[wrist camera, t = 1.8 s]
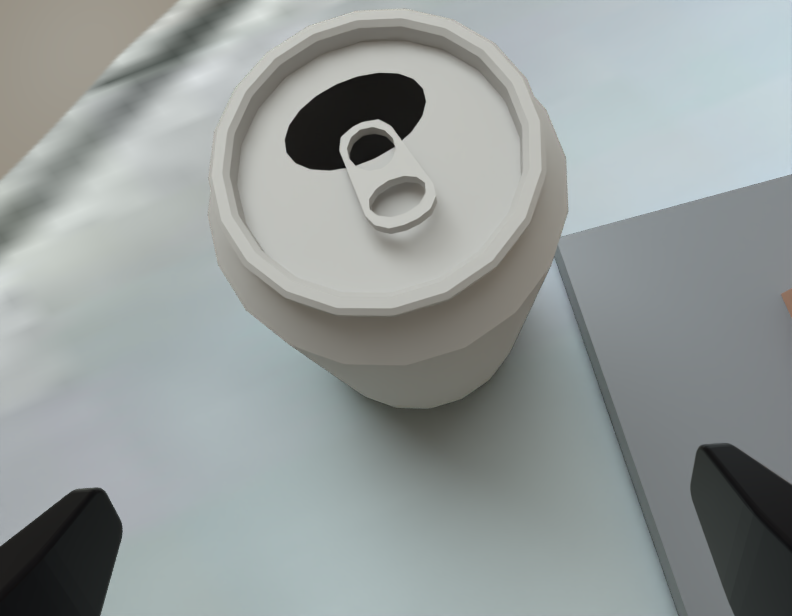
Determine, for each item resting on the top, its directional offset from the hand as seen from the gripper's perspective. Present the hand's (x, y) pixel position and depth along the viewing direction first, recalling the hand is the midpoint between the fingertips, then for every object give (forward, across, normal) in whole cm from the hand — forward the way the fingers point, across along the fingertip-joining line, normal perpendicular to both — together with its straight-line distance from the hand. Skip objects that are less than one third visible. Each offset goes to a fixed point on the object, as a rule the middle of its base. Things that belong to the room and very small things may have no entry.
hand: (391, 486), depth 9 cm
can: (+13, 0, +5) cm, 14 cm away
